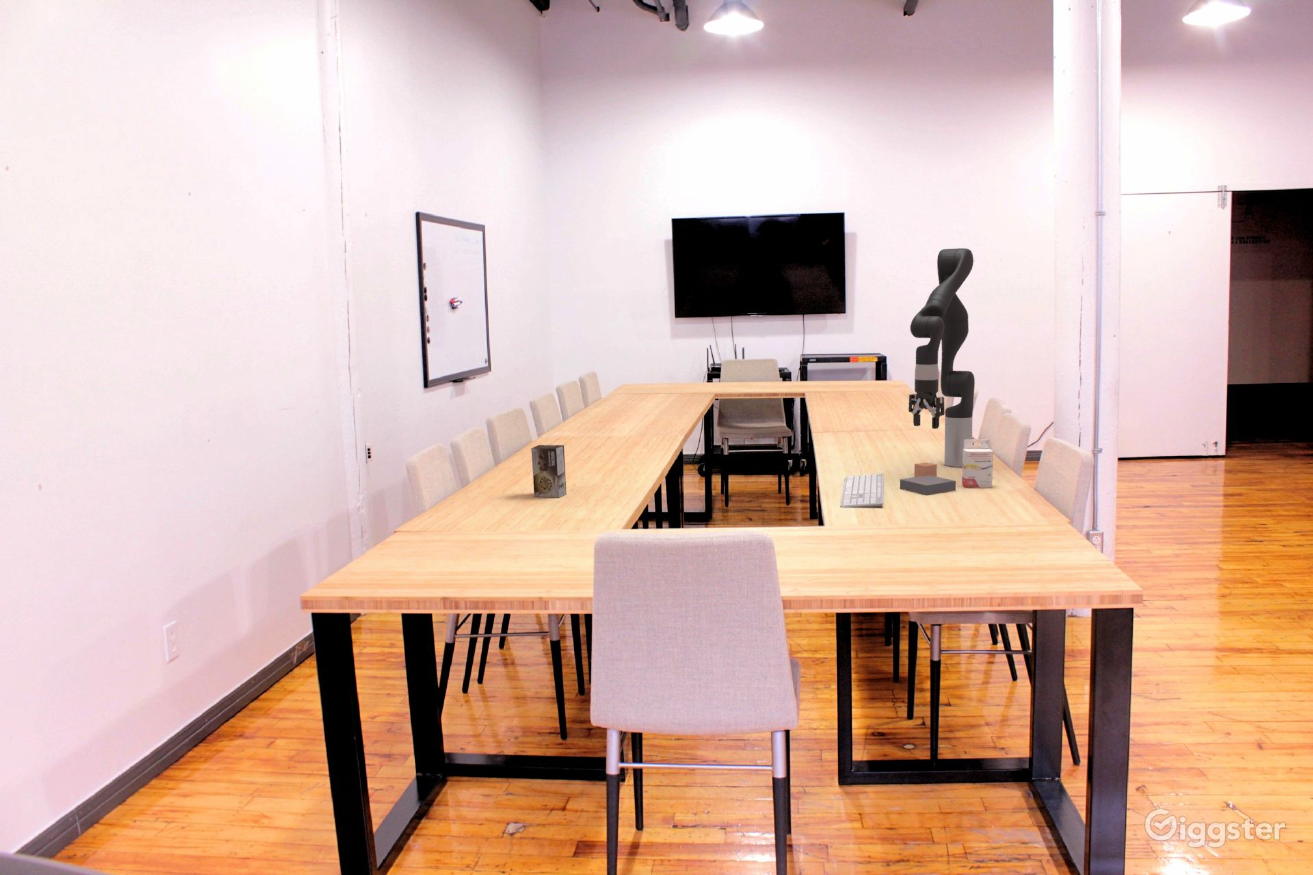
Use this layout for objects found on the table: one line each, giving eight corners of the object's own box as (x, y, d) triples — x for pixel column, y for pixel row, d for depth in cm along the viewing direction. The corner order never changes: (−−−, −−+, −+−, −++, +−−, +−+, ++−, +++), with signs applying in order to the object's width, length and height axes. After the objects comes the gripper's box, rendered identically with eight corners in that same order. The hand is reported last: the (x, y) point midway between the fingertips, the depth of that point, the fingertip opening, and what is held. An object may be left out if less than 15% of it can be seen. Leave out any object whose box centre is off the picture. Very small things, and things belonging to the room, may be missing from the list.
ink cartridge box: (964, 487, 319) (965, 441, 317) (961, 484, 324) (962, 439, 322) (992, 487, 319) (993, 441, 316) (989, 484, 323) (990, 438, 321)
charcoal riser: (928, 484, 327) (928, 474, 326) (955, 490, 316) (955, 480, 316) (899, 488, 321) (899, 479, 321) (926, 495, 311) (926, 485, 310)
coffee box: (567, 493, 329) (565, 444, 326) (559, 498, 323) (556, 448, 320) (541, 492, 332) (539, 444, 329) (533, 496, 326) (530, 447, 323)
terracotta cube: (925, 477, 338) (926, 462, 338) (936, 479, 334) (936, 464, 333) (914, 478, 336) (914, 464, 335) (924, 481, 332) (925, 466, 331)
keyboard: (845, 479, 341) (845, 472, 340) (883, 480, 338) (883, 473, 337) (839, 509, 298) (839, 501, 298) (883, 510, 295) (883, 502, 295)
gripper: (951, 378, 325) (950, 428, 328) (920, 375, 338) (919, 424, 340) (933, 380, 322) (932, 430, 324) (902, 377, 334) (902, 425, 337)
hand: (925, 427), depth 332 cm, fingers open, 8 cm apart
